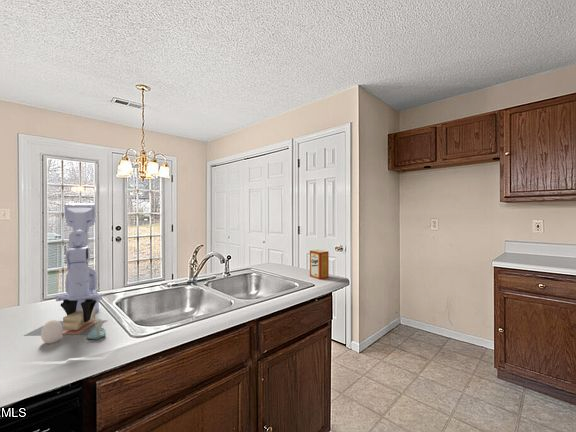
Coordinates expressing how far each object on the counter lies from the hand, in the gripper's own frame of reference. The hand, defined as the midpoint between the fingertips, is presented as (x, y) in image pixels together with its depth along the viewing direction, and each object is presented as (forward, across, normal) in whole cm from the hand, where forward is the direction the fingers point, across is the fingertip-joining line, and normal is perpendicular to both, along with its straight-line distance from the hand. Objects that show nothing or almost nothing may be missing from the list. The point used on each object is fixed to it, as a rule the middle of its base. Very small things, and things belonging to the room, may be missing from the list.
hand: (79, 321), depth 100 cm
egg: (+3, -1, -10) cm, 11 cm away
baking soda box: (+3, +92, +71) cm, 116 cm away
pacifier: (+3, +10, -8) cm, 13 cm away
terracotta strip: (+2, 0, 0) cm, 2 cm away
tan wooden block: (+1, 0, 0) cm, 1 cm away
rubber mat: (+3, -4, 0) cm, 5 cm away
